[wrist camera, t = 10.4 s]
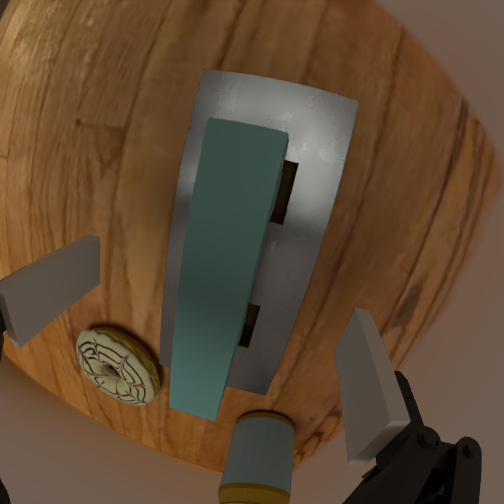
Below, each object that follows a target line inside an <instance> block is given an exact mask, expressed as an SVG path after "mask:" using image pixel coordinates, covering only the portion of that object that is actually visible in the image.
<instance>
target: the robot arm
mask: <svg viewBox="0 0 504 504" xmlns="http://www.w3.org/2000/svg"><path fill="white" fill-rule="evenodd" d="M99 284H100V237H97V236H94V235H91V234H88V235H86V236H84V237H82V238H80V239H78V240H76V241H74V242H72V243H70V244H68V245H65V246H63V247H61V248H60V249H58V250H56V251H54V252H52V253H50V254H48V255H46V256H44V257H42V258H40V259H38V260H36V261H35V262H33V263H31V264H29V265H27V266H25V267H23V268H21V269H19V270H18V271H17V272H14V273H12V274H11V275H9V276H7V277H5V278H4V279H2V280H0V360H1V354H2V348H3V342H4V336H3V332H4V331H5V330H7V333H8V336H9V339H10V341H11V342H12V343H14V344H15V345H16V346H17V347H19V348H21V347H22V346H23V345H25V344H26V343H27V342H28V341H29V340H30V339H31V338H33V337H34V336H35V335H36V334H37V333H38V332H40V331H41V330H42V329H43V328H44V327H46V326H47V325H48V324H49V323H50V322H52V321H53V320H54V319H55V318H56V317H58V316H59V315H60V314H61V313H63V312H64V311H65V310H66V309H68V308H69V307H70V306H71V305H73V304H74V303H75V302H76V301H78V300H79V299H80V298H82V297H83V296H84V295H85V294H87V293H88V292H89V291H91V290H92V289H93V288H95V287H96V286H97V285H99ZM334 354H335V361H336V367H337V374H338V381H339V388H340V395H341V403H342V411H343V420H344V429H345V438H346V449H347V461H348V464H367V463H368V462H370V461H371V460H372V459H373V458H374V457H376V464H377V465H376V466H374V467H373V468H372V469H371V470H370V471H368V472H367V473H366V474H364V475H363V476H362V478H364V479H363V480H362V482H361V483H360V484H359V485H358V486H357V488H356V489H355V490H354V491H353V492H352V494H351V495H350V496H349V497H348V498H347V499H346V500H345V502H343V503H342V504H478V503H479V494H480V483H481V460H482V453H481V448H480V446H479V444H478V442H476V440H474V439H472V438H471V437H463V438H461V439H460V440H459V441H458V442H457V443H456V444H455V445H454V444H450V443H445V442H441V440H440V437H439V435H438V434H437V432H436V431H434V430H433V429H432V428H430V427H427V426H424V424H423V421H422V418H421V416H420V413H419V410H418V407H417V404H416V402H415V399H414V396H413V393H412V392H411V388H410V385H409V383H408V380H407V379H406V378H405V377H404V375H403V374H402V373H401V372H400V371H393V368H392V365H391V363H390V360H389V358H388V355H387V352H386V350H385V347H384V345H383V342H382V340H381V337H380V335H379V333H378V330H377V328H376V325H375V323H374V321H373V318H372V316H371V314H370V311H369V310H364V309H360V308H356V307H355V309H354V311H353V313H352V316H351V318H350V320H349V322H348V324H347V326H346V329H345V331H344V333H343V335H342V337H341V339H340V341H339V343H338V345H337V347H336V349H335V351H334ZM443 488H444V489H443ZM0 504H11V503H10V499H9V495H8V493H7V490H6V488H5V486H4V485H3V483H2V482H1V479H0Z"/></svg>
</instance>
